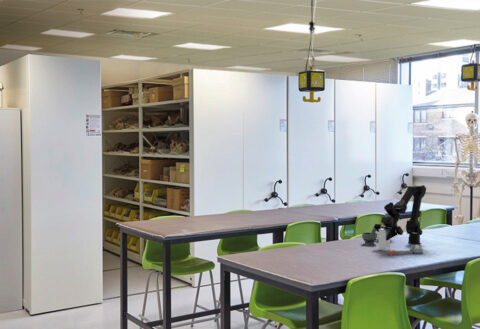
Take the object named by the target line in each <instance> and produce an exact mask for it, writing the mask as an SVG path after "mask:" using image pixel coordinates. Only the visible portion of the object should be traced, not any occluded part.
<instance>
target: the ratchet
mask: <svg viewBox="0 0 480 329" xmlns="http://www.w3.org/2000/svg"><path fill="white" fill-rule="evenodd" d="M422 254H424V249H423V248H420V244H414V247H412V248H411V249H406V250H405V249H404V250H403V249H402V250H394V249H392V250H391V249H390V250H387V251H386V255H387V256H398V255H422Z"/></svg>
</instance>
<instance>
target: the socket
mask: <svg viewBox="0 0 480 329" xmlns="http://www.w3.org/2000/svg"><path fill="white" fill-rule="evenodd" d="M389 233H390V229H384V228H383V229H379V240H378V250H379V251H385V252H387V251H389V250H391V239H389V240H388V241H387V240H386V239H387V236H388V234H389Z"/></svg>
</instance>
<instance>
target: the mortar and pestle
mask: <svg viewBox="0 0 480 329" xmlns="http://www.w3.org/2000/svg"><path fill="white" fill-rule="evenodd" d="M375 232H376V229H375V227H374V226H373V227H372V229H371V231H369V232H362V233H361V237H362V240H363V241H364V245H368V244H369V245H370V246H371V245H375V241H376V240H377V239H378V238H377V233H375Z"/></svg>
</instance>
